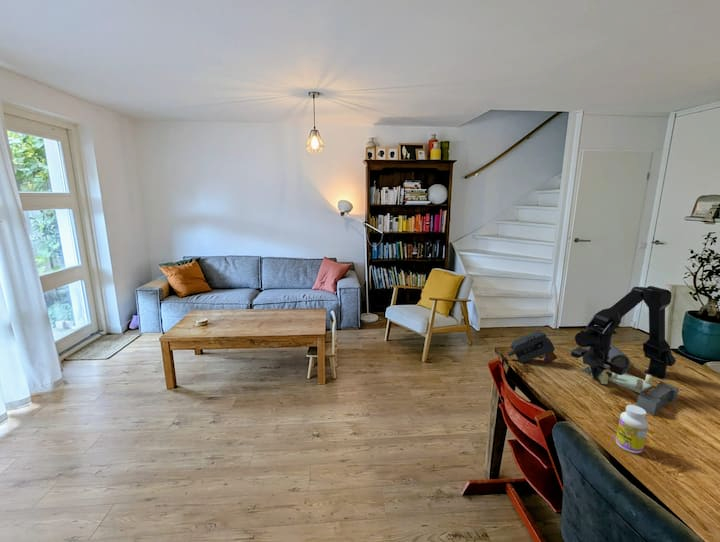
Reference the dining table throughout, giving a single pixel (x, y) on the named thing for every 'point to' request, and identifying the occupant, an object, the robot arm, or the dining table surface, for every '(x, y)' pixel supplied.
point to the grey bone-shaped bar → (657, 398)
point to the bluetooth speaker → (616, 355)
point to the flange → (591, 372)
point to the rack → (632, 382)
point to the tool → (533, 347)
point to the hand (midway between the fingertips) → (595, 379)
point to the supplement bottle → (632, 429)
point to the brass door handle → (602, 376)
